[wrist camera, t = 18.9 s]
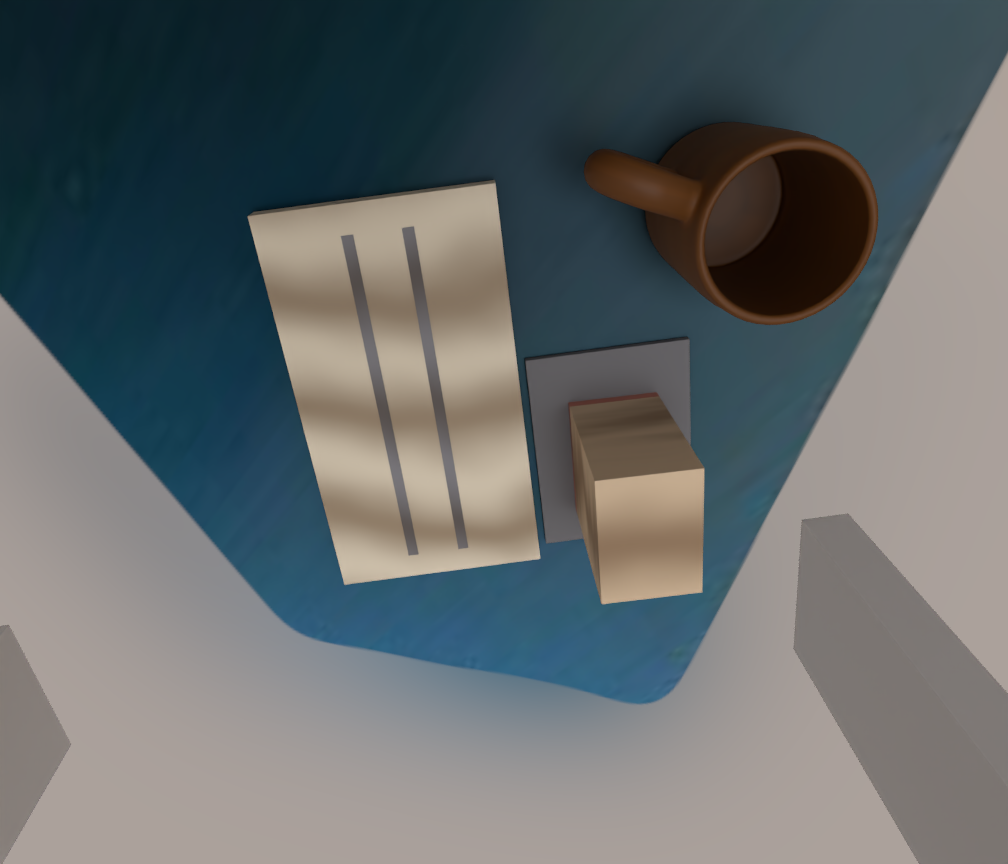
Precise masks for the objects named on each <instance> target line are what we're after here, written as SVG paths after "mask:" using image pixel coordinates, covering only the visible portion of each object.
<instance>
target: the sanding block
mask: <svg viewBox="0 0 1008 864" xmlns="http://www.w3.org/2000/svg"><path fill="white" fill-rule="evenodd" d="M568 406H569V420H570V434H571V449H572V463H573V477H574V491H575V505H576V511H577V515H578V519H579V522H580V526H581V530H582V534H583V537H584V541H585V545H586V548H587V552H588V556H589V559H590V563H591V567H592V570H593V574H594V578H595V582H596V585H597V589H598V593H599V596H600V600H601V604H607V603H615V602H624V601H632V600H641V599H649V598H658V597H666V596H675V595H683V594H692V593H700V592H702V575H703V515H704V467H703V465H702V464H701V462H700V461H699V459H698V457H697V456H696V454H695V453H694V451H693V449H692V448H691V446H690V445H689V443H688V441H687V440H686V438H685V437H684V435H683V433H682V432H681V430H680V429H679V427H678V425H677V424H676V422H675V421H674V419H673V417H672V416H671V414H670V413H669V411H668V409H667V408H666V406H665V405H664V403H663V401H662V400H661V398H660V397H659V395H658V393H657V392H654V393H645V394H636V395H628V396H619V397H611V398H602V399H593V400H585V401H576V402H568Z"/></svg>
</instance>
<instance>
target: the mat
mask: <svg viewBox="0 0 1008 864" xmlns="http://www.w3.org/2000/svg"><path fill="white" fill-rule="evenodd" d="M525 364H526V373H527V381H528V390H529V399H530V408H531V416H532V425H533V434H534V443H535V451H536V460H537V469H538V478H539V486H540V495H541V504H542V513H543V521H544V530H545V539H546V543H553V542H561V541H568V540H576V539H583V538H584V537H583V534H582V530H581V526H580V522H579V519H578V515H577V511H576V505H575V491H574V477H573V463H572V449H571V434H570V420H569V406H568V402H576V401H585V400H593V399H602V398H611V397H619V396H628V395H636V394H645V393H654V392H657V393H658V395H659V397H660V398H661V400H662V401H663V403H664V405H665V406H666V408H667V409H668V411H669V413H670V414H671V416H672V417H673V419H674V421H675V422H676V424H677V425H678V427H679V429H680V430H681V432H682V433H683V435H684V437H685V438H686V440H687V441H688V443H689V445H690V446H691V432H690V349H689V338H688V337H683V338H675V339H668V340H660V341H653V342H645V343H638V344H630V345H623V346H615V347H607V348H600V349H592V350H585V351H577V352H570V353H562V354H555V355H547V356H540V357H532V358H525Z"/></svg>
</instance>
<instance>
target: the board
mask: <svg viewBox="0 0 1008 864" xmlns="http://www.w3.org/2000/svg"><path fill="white" fill-rule="evenodd" d="M248 220H249V224H250V227H251V231H252V235H253V239H254V243H255V246H256V250H257V254H258V258H259V262H260V265H261V269H262V273H263V277H264V281H265V284H266V288H267V292H268V296H269V300H270V303H271V307H272V311H273V315H274V319H275V322H276V326H277V330H278V334H279V337H280V341H281V345H282V349H283V353H284V356H285V360H286V364H287V368H288V372H289V375H290V379H291V383H292V387H293V391H294V394H295V398H296V402H297V406H298V410H299V413H300V417H301V421H302V425H303V429H304V432H305V436H306V440H307V444H308V448H309V451H310V455H311V459H312V463H313V467H314V470H315V474H316V478H317V482H318V486H319V489H320V493H321V497H322V501H323V505H324V508H325V512H326V516H327V520H328V523H329V527H330V531H331V535H332V539H333V542H334V546H335V550H336V554H337V558H338V561H339V565H340V569H341V573H342V577H343V580H344V584H345V585H346V584H353V583H361V582H368V581H376V580H383V579H391V578H399V577H406V576H414V575H421V574H429V573H436V572H444V571H452V570H459V569H467V568H474V567H482V566H489V565H497V564H504V563H512V562H520V561H527V560H535V559H540V552H539V543H538V535H537V527H536V518H535V510H534V502H533V493H532V485H531V477H530V468H529V460H528V452H527V443H526V435H525V427H524V418H523V410H522V401H521V393H520V385H519V376H518V368H517V360H516V351H515V343H514V335H513V326H512V318H511V310H510V301H509V293H508V285H507V276H506V268H505V259H504V251H503V243H502V234H501V226H500V218H499V209H498V201H497V193H496V184H495V181H494V180H490V181H483V182H475V183H468V184H460V185H453V186H445V187H438V188H430V189H423V190H415V191H408V192H400V193H393V194H385V195H378V196H370V197H363V198H355V199H348V200H340V201H333V202H325V203H318V204H310V205H303V206H295V207H288V208H280V209H273V210H265V211H258V212H253V213H251V214H250V215H249V216H248Z"/></svg>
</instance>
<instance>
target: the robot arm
mask: <svg viewBox="0 0 1008 864" xmlns="http://www.w3.org/2000/svg"><path fill="white" fill-rule="evenodd" d="M794 650H795V652H796V653H797V655H798V657H799V659H800V660H801V662H802V664H803V666H804V667H805V669H806V671H807V673H808V674H809V676H810V678H811V679H812V681H813V683H814V685H815V686H816V688H817V689H818V691H819V693H820V695H821V697H822V698H823V700H824V702H825V703H826V705H827V707H828V709H829V710H830V712H831V713H832V715H833V717H834V719H835V720H836V722H837V724H838V726H839V727H840V729H841V731H842V733H843V734H844V736H845V738H846V739H847V741H848V743H849V744H850V746H851V748H852V750H853V751H854V753H855V755H856V757H857V758H858V760H859V762H860V763H861V765H862V767H863V769H864V770H865V772H866V774H867V775H868V777H869V779H870V780H871V782H872V784H873V786H874V787H875V789H876V791H877V793H878V794H879V796H880V798H881V799H882V801H883V803H884V805H885V806H886V808H887V810H888V811H889V813H890V815H891V817H892V818H893V820H894V821H895V823H896V825H897V827H898V829H899V830H900V832H901V834H902V835H903V837H904V839H905V840H906V842H907V844H908V846H909V847H910V849H911V851H912V852H913V854H914V856H915V858H916V859H917V861H918V863H919V864H1008V693H1007V692H1006V691H1005V690H1004V689H1003V688H1002V687H1001V685H999V683H998V682H997V681H996V680H995V679H994V678H993V676H992V675H991V674H990V673H989V672H988V671H987V670H986V668H985V667H984V666H982V664H981V663H980V662H979V661H978V659H977V658H976V657H975V656H974V655H973V654H972V653H971V652H970V650H969V649H968V648H967V647H966V646H965V645H964V644H963V643H962V642H961V640H960V639H959V638H958V637H957V636H956V635H955V634H954V633H953V631H952V630H951V629H950V628H949V627H948V626H947V625H946V624H945V622H944V621H943V620H942V619H941V618H940V617H939V616H938V614H937V613H936V612H935V611H934V610H933V609H932V608H931V607H930V605H929V604H928V603H927V602H926V601H925V600H924V599H923V597H922V596H921V595H920V594H919V593H918V592H917V591H916V590H915V589H914V587H913V586H912V585H911V584H910V583H909V582H908V581H907V580H906V578H905V577H904V576H903V575H902V574H901V573H900V572H899V570H898V569H897V568H896V567H895V566H894V565H893V564H892V562H891V561H890V560H889V559H888V558H887V557H886V556H885V555H884V553H882V551H881V550H880V549H879V548H878V547H877V546H876V544H875V543H874V542H873V541H872V540H871V539H870V538H869V537H868V536H867V534H866V533H865V532H864V531H863V530H862V529H861V528H860V526H859V525H858V524H857V523H856V522H855V521H854V520H853V519H852V517H851V516H850V515H849V514H842V515H835V516H827V517H819V518H812V519H804V520H802V525H801V541H800V557H799V572H798V588H797V604H796V619H795V634H794ZM70 745H71V743H70V741H69V739H68V737H67V735H66V734H65V731H64V730H63V728H62V726H61V724H60V722H59V720H58V718H57V716H56V714H55V712H54V711H53V708H52V706H51V705H50V703H49V701H48V699H47V697H46V695H45V693H44V691H43V689H42V687H41V685H40V684H39V682H38V680H37V678H36V676H35V674H34V672H33V670H32V668H31V666H30V664H29V662H28V661H27V659H26V657H25V655H24V653H23V651H22V649H21V647H20V645H19V643H18V642H17V640H16V638H15V636H14V634H13V632H12V630H11V628H10V626H9V625H5V626H0V864H2V863H3V862H4V860H5V858H6V857H7V855H8V853H9V851H10V850H11V848H12V846H13V844H14V843H15V841H16V839H17V837H18V835H19V834H20V832H21V831H22V829H23V827H24V825H25V824H26V822H27V820H28V818H29V817H30V815H31V813H32V811H33V810H34V808H35V806H36V804H37V803H38V801H39V799H40V797H41V796H42V794H43V792H44V791H45V789H46V787H47V785H48V784H49V782H50V780H51V778H52V777H53V775H54V773H55V772H56V770H57V768H58V766H59V765H60V763H61V761H62V759H63V758H64V756H65V754H66V752H67V751H68V749H69V747H70Z"/></svg>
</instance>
